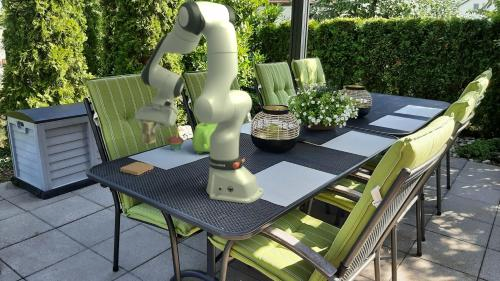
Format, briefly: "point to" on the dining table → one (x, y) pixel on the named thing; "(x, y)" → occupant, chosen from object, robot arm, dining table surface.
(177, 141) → the cupcake
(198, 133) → the teapot
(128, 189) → the dining table surface
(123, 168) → the tile
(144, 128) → the post
